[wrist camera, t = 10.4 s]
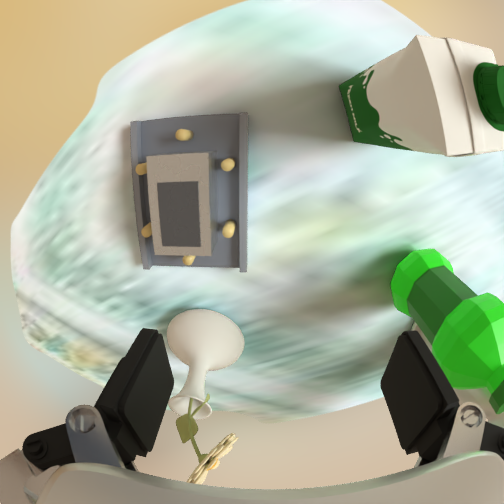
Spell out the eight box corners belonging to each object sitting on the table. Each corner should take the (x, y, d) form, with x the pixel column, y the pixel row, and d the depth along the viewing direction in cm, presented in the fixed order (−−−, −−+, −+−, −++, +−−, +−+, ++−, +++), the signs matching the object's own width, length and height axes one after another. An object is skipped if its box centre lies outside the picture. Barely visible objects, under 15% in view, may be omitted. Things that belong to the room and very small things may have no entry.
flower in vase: (217, 369, 42) (197, 510, 19) (157, 335, 39) (101, 477, 16) (268, 323, 38) (275, 497, 15) (201, 279, 35) (141, 460, 12)
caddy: (247, 264, 34) (246, 279, 31) (149, 261, 34) (138, 275, 31) (248, 114, 27) (246, 110, 24) (138, 122, 27) (123, 121, 24)
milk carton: (410, 140, 27) (537, 161, 9) (347, 150, 28) (462, 174, 10) (393, 74, 24) (511, 39, 6) (327, 79, 25) (420, 12, 7)
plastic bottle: (387, 312, 37) (462, 447, 14) (373, 255, 34) (484, 402, 10) (439, 284, 35) (531, 394, 12) (431, 226, 32) (562, 329, 9)
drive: (218, 237, 32) (211, 256, 27) (169, 236, 32) (154, 255, 27) (217, 150, 28) (208, 152, 23) (164, 153, 28) (146, 156, 23)
